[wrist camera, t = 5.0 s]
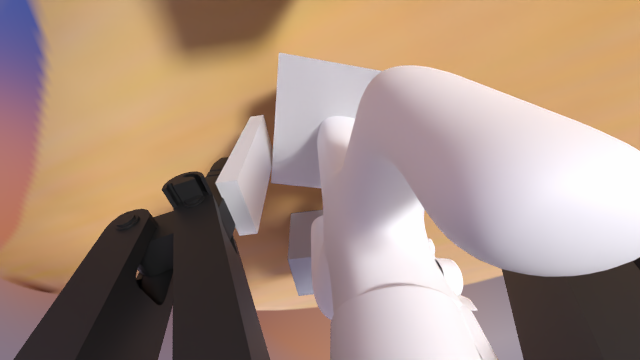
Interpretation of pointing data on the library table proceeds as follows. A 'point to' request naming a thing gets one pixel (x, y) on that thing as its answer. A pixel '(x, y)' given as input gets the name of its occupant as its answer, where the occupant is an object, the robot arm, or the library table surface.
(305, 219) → the slate-grey block
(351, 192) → the figurine
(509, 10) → the library table surface
